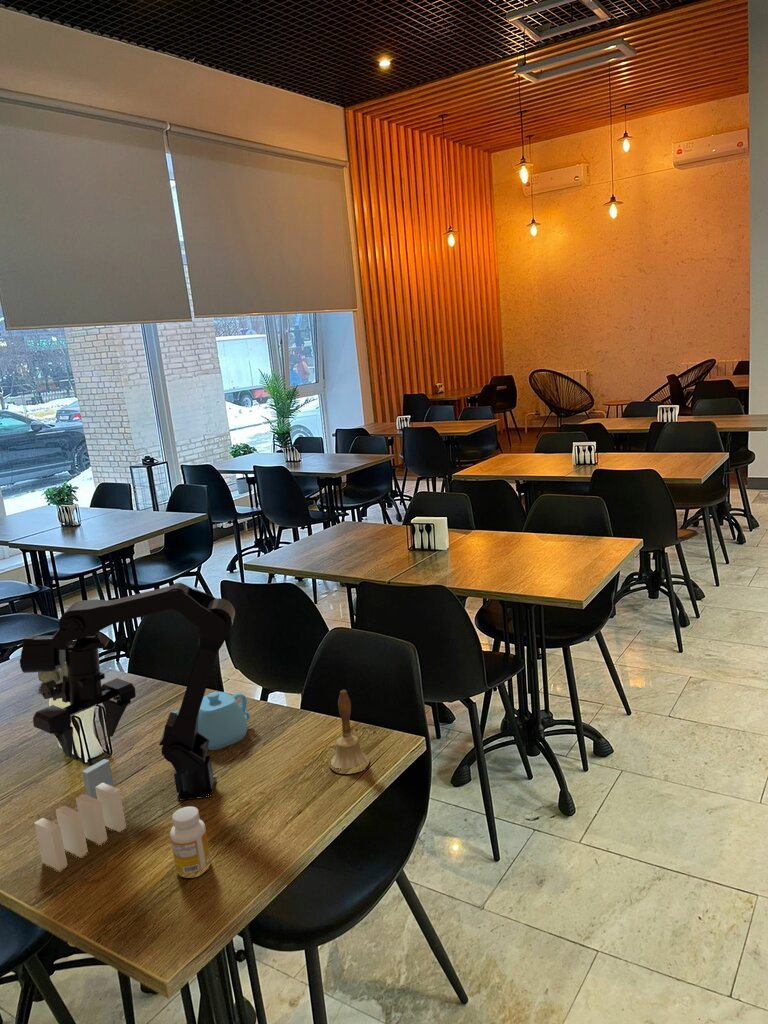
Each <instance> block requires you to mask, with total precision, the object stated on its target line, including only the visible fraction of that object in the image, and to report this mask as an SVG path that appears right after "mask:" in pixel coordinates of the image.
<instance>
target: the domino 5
mask: <svg viewBox="0 0 768 1024" xmlns="http://www.w3.org/2000/svg"><path fill="white" fill-rule="evenodd" d="M75 803H76V807H77V812H80V813H81V817H82V822H83V828H84V833H85V837H86V838H88V839H90V840H92V841H95V842H97V843H99V844H100V843H102V842H103V841H105V840H107V839H108V834H107V828H105V822H104V817H103V811H102V806H101V801H100V800H97V799H95V798H93V797H90V796H88V795H86V793H82V794H80V795H79V796H77V797H76V798H75Z"/></svg>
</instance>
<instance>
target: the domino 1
mask: <svg viewBox="0 0 768 1024" xmlns="http://www.w3.org/2000/svg"><path fill="white" fill-rule="evenodd" d="M33 823H34V829H35V833H36V839H37V844H38V848H39V853H40V858H41V863H42V862H44V863H46V864H48V865H50V866H52V867H54V868H56V869H58V870H60V869H61V868H63V867H64V866H66V865H68V860H67V856H66V852H65V850H64V844H63V839H62V834H61V829H60V825H58V823H56V822H53V821H52V820H49V819H47V818H44V817H41V818H40V819H38V820H36V821H34V822H33Z"/></svg>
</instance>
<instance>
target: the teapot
mask: <svg viewBox="0 0 768 1024" xmlns="http://www.w3.org/2000/svg"><path fill="white" fill-rule="evenodd" d="M239 698H241V706H240V704H239V703H238V701H237V700H236V699H239ZM247 700H248V699H247V697H246V695H245V694H243V693H240V692H238V693H237V692H236V693H234V694H232V695H231V694H230V693H227V692H224V691H216V692H215V691H214V692H209V693H207V694H206V695H204V697H203V700H202V703H201V706H200V710H199V719H198V730H197V732H198V733H200V734H201V735H203V736H204V737H206V738H207V739H209V745H208V749H207V751H208V750H209V751H217V750H220V749H224V748H226V747H228V746H231V745H233V744H235V743H237V742H240V741H241V740H243V739H244V738H245V737H246V734H247V731H248V723H247V721H249V719H250V712H249V711H246V709H247V704H248V703H247V702H248V701H247ZM179 710H180V709H179ZM179 710H170V711H169V713H170V712H173V713H175V714H177V713H178V711H179Z"/></svg>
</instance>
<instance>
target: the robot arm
mask: <svg viewBox="0 0 768 1024" xmlns="http://www.w3.org/2000/svg"><path fill="white" fill-rule="evenodd" d="M169 610H170V611H171V610H174V611H176V612H178V613H180V614H181V615H182V616H183V617H185V618H186V619H187V620H188V621H189V622H191V623H192V624H193V625H195V626H197V627H199V634H198V649H197V653H196V656H195V660H194V662H193V667H192V669H191V672H190V676H189V678H188V682H187V685H186V689H185V693H184V694H183V695H184V696H183V699H182V701H181V704H180V707H179V711H178V713H177V714H175V713H173V712H170V711H169V713H168V716H167V720H166V722H165V725H164V730H163V732H162V735H161V738H160V740H159V744H158V745H159V746H161V756H163V758H164V759H165V760H166V761H167V762H168V763H170V764H171V765H172V767H173V768H174V773H173V778H174V784H175V792H176V793H178V795H177V797H176V798H177V800H178V799H179V800H178V801H181V800H180V799H187V800H190V799H189V798H197V797H206V796H207V798H209V797H208V796H210V795H211V794H212V795H213V792H214V789H213V787H214V788H215V786H214V784H215V785H216V783H215V781H217V777H216V776H214V772H213V764H212V759H211V758H212V757H211V755H207V753H208V750H207V749H208V745H209V739H207V738H206V737H204V736H203V735H201V734H200V733H198V732H197V730H198V719H199V710H200V706H201V703H202V700H203V697H204V696H205V693H206V690H207V687H208V683H209V680H210V677H211V675H212V674H211V673H212V671H213V667H214V664H215V661H216V658H217V655H218V653H219V651H220V649H221V648H222V646H223V645H224V643H225V642H226V639H227V637H228V635H229V633H230V632H231V629H232V626H233V624H234V619H235V615H236V609H235V607H234V606H233V603H231V602H230V601H229V600H227V599H225V598H216V597H214V596H213V595H211V594H209V593H207V592H204V591H201V590H198V589H195V588H193V587H190V586H188V584H185V583H182V582H176V583H173V584H172V585H169V586H165V587H164V586H163V587H160V588H157V589H153V590H147V591H144V592H140V593H136V594H132V595H128V596H123V597H120V598H119V597H118V598H116V599H110V600H109V599H108V600H106V599H86V600H85V599H83V600H78V601H76V602H73V603H72V604H71V605H70V606H69V607H68V608H67V609H66V610H65V611H64V613H63V614H62V615H61V616H60V618H59V621H58V628H59V629H58V630H57V631H56V632H55V633H54V634H53V635H34V634H29V635H28V634H27V635H26V636H25V637H24V638H23V640H22V643H23V644H22V649H21V652H20V658H19V665H20V669H21V672H22V673H23V674H24V673H25V674H28V673H38V672H55V671H57V670H58V669H59V666H63V665H64V662H65V657H66V665H67V674H66V675H63V679H62V680H60V681H57V682H55V681H54V680H49V681H46V682H44V683H43V682H42V683H41V682H40V683H41V688H40V689H41V693H42V694H41V695H42V697H43V698H44V699H45V700H48V699H52V700H53V701H57V700H59V699H61V701H62V703H65V704H67V703H69V705H67V706H65V707H59V706H56V705H53V704H52V705H49V706H48V707H44V708H42V709H39V710H37V711H36V712H35V713H34V714H33V717H32V723H33V727H34V728H36V729H38V730H41V731H44V732H45V733H48V734H51V735H52V734H53V735H54V737H55V738H56V739H57V741H58V743H59V745H60V747H61V748H62V751H63V753H64V755H65V756H66V757H68V758H71V757H72V755H73V748H74V747H73V746H74V745H73V744H74V743H73V742H74V727H73V726H71V723H72V717H73V716H75V715H78V714H79V713H82V712H84V711H86V710H88V709H91V708H93V707H95V706H98V705H100V704H102V705H103V707H104V714H105V725H106V732H107V737H110V738H113V736H114V735H115V732H116V730H117V728H118V725H119V723H120V721H121V719H122V716H123V714H124V713H125V711H126V709H127V707H128V705H129V704H131V703H132V699H134V698H136V697H137V693H136V687H135V685H134V684H133V683H132V682H129V681H127V680H123V679H120V678H117V677H116V678H114V679H112V680H109V681H107V682H105V683H102V680H104V679H106V677H105V676H106V675H105V672H103V671H101V667H100V655H99V649H105V647H106V646H107V645H108V644H109V642H110V638H108V637H106V635H103V634H102V633H101V632H100V631H103V629H105V628H108V627H109V626H112V625H114V624H117V623H118V624H119V623H122V622H126V621H131V620H135V619H138V618H142V617H147V616H150V615H155V614H158V613H163V612H166V611H169ZM92 635H93V636H92ZM212 791H213V792H212ZM208 794H209V795H208ZM197 799H198V798H197Z"/></svg>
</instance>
